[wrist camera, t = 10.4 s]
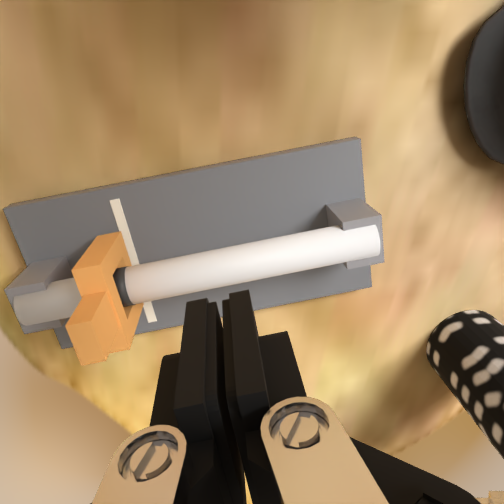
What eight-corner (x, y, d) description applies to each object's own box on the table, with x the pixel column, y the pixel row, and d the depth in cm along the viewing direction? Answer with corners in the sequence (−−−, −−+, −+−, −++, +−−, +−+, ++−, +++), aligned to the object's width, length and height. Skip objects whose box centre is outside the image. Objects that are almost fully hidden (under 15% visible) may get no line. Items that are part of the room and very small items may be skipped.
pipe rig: (354, 136, 36) (388, 149, 29) (366, 280, 42) (397, 319, 35) (10, 204, 36) (-38, 233, 29) (66, 340, 41) (37, 392, 34)
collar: (121, 231, 35) (83, 291, 25) (143, 303, 38) (118, 384, 28) (97, 235, 35) (50, 298, 25) (121, 307, 38) (88, 390, 28)
